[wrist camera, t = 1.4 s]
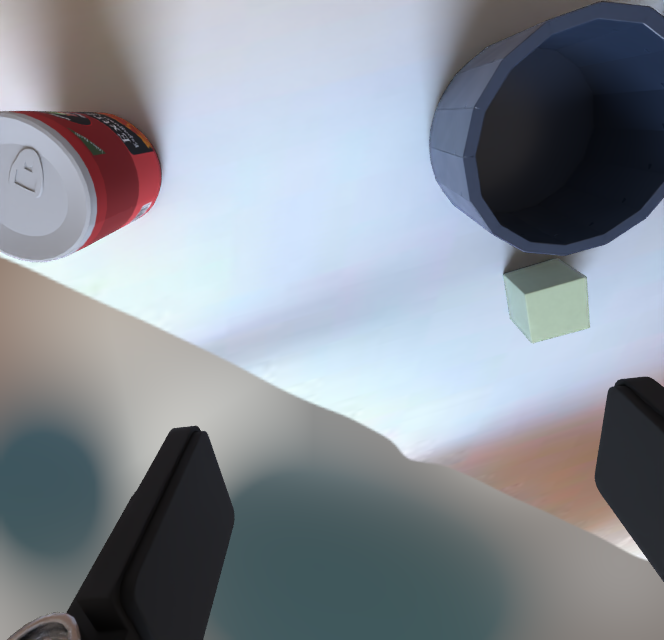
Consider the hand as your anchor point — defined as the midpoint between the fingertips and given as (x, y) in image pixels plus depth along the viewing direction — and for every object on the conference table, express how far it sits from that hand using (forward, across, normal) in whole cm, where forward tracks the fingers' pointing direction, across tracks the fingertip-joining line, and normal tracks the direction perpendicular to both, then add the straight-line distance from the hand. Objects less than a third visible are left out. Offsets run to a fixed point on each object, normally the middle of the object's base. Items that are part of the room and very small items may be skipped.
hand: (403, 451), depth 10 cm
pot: (+26, -12, -5) cm, 29 cm away
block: (+27, -14, +8) cm, 32 cm away
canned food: (+26, +18, -7) cm, 33 cm away
